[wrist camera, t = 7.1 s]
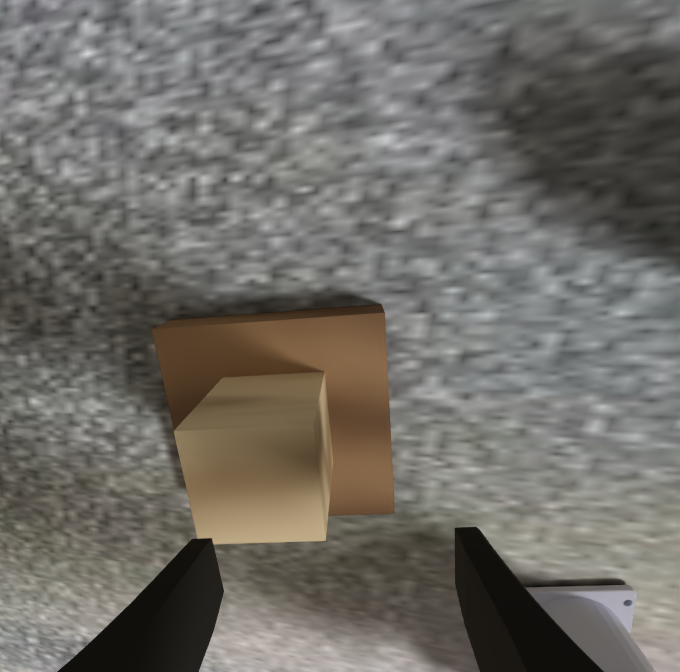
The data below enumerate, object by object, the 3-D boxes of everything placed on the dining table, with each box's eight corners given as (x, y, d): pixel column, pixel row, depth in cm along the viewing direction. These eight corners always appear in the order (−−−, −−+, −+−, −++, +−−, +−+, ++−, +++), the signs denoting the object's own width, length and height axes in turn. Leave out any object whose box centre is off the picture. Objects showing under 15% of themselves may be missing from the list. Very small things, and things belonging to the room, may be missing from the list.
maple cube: (333, 462, 19) (325, 540, 14) (238, 466, 19) (199, 544, 14) (324, 371, 17) (313, 424, 13) (222, 377, 18) (173, 431, 13)
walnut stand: (391, 488, 21) (394, 513, 20) (208, 495, 22) (194, 521, 20) (381, 304, 18) (384, 312, 17) (171, 319, 19) (151, 329, 17)
